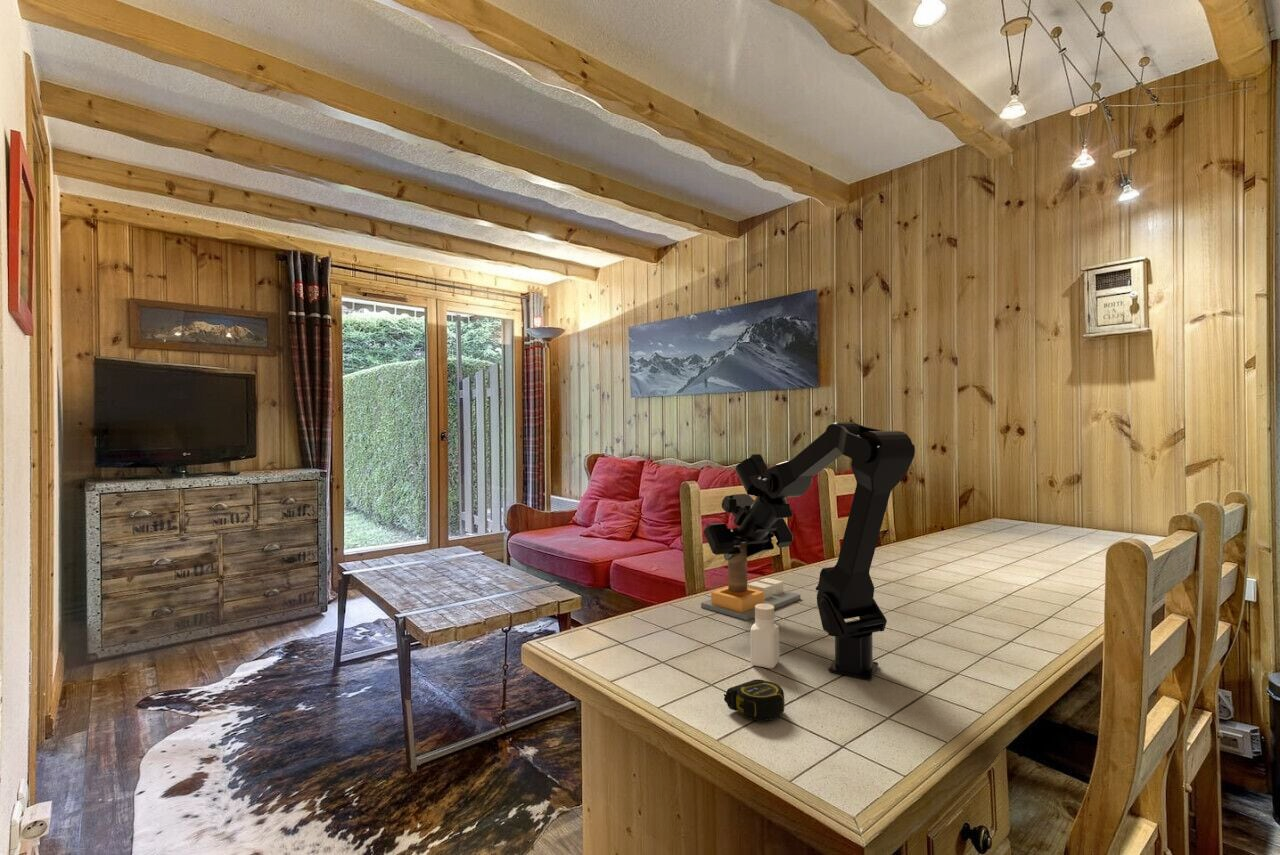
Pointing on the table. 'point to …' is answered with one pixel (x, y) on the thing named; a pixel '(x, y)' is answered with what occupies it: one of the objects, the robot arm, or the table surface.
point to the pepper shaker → (764, 637)
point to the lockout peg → (738, 571)
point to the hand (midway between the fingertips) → (734, 557)
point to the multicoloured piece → (749, 599)
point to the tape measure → (756, 700)
